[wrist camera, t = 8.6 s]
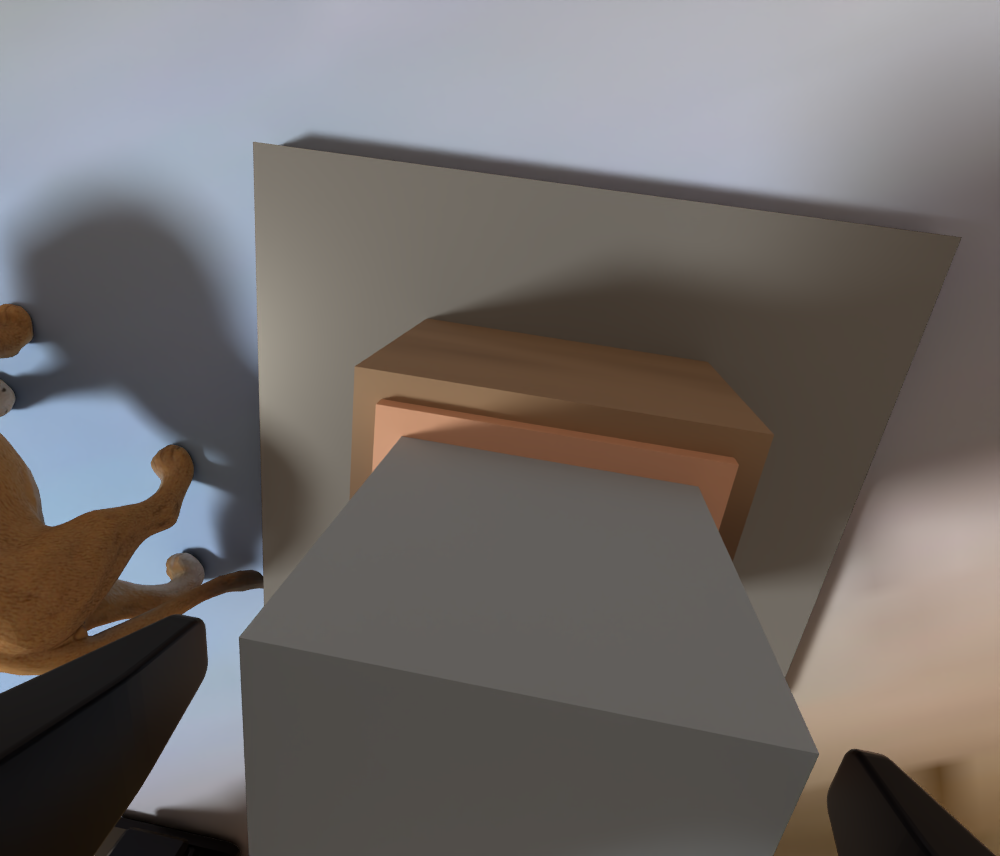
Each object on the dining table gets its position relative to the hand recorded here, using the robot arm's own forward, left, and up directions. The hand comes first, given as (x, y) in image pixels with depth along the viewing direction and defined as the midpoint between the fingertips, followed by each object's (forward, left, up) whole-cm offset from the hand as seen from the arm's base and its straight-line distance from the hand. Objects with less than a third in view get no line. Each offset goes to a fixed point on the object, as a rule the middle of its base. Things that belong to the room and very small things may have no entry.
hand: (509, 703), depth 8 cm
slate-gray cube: (0, 0, -3) cm, 3 cm away
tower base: (0, 0, -9) cm, 9 cm away
